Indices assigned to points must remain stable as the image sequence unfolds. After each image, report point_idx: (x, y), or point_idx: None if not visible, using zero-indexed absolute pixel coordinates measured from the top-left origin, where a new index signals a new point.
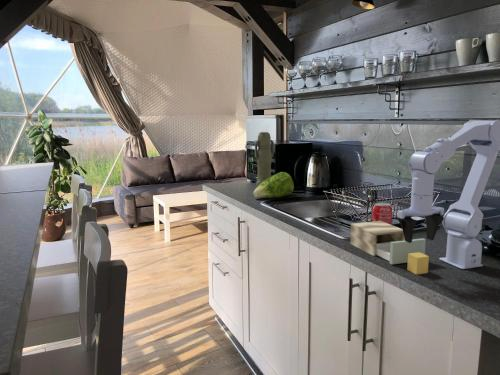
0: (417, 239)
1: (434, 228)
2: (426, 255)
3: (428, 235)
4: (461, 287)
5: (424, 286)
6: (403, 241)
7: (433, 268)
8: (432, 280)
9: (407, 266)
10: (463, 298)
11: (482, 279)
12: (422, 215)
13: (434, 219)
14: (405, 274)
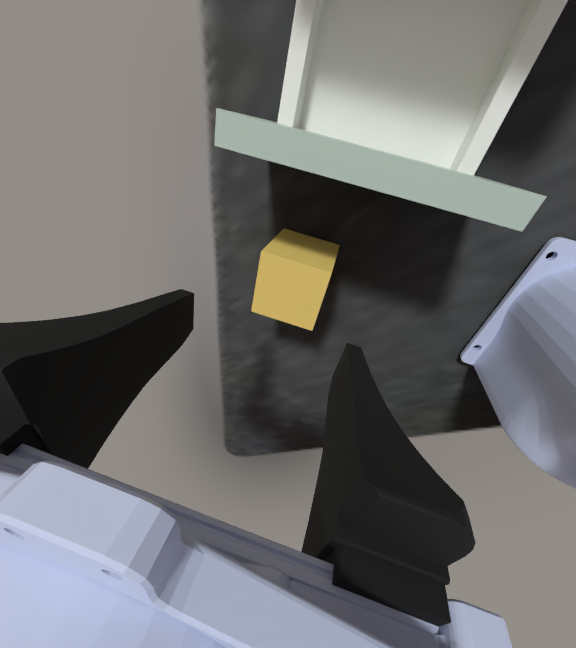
0: (465, 191)
1: (322, 455)
2: (314, 319)
3: (340, 370)
4: (298, 397)
5: (219, 341)
6: (316, 161)
7: (388, 284)
8: (274, 335)
9: (279, 233)
10: (245, 415)
11: (405, 414)
12: (180, 523)
13: (313, 533)
14: (239, 256)
